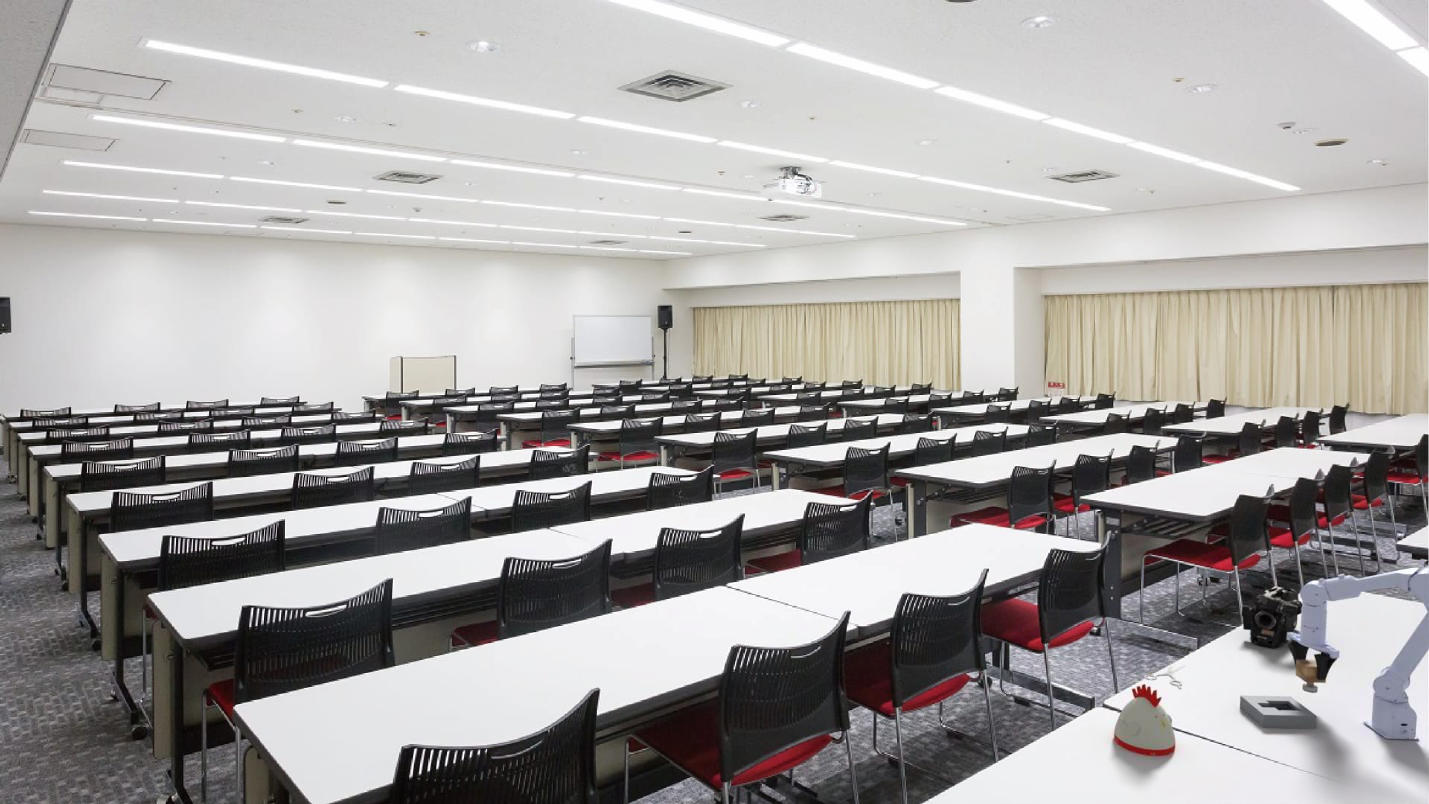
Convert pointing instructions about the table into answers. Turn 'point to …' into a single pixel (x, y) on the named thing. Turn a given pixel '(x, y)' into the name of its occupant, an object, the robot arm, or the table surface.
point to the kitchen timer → (1145, 725)
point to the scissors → (1169, 675)
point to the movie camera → (1272, 616)
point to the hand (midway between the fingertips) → (1310, 674)
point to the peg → (1308, 674)
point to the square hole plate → (1278, 712)
